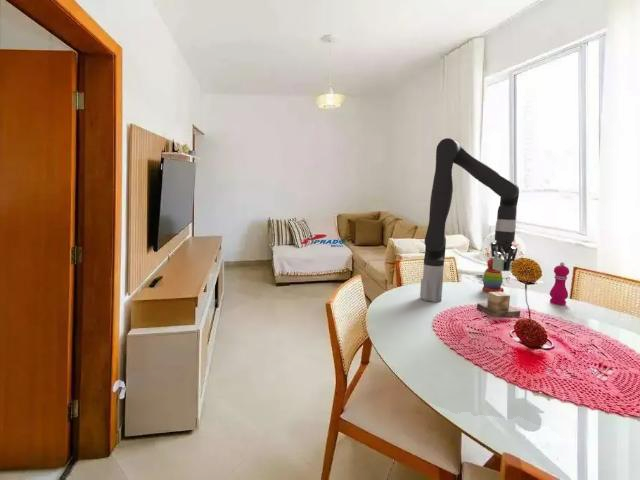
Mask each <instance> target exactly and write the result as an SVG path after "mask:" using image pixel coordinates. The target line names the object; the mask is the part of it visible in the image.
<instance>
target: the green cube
mask: <svg viewBox="0 0 640 480" xmlns="http://www.w3.org/2000/svg"><path fill="white" fill-rule="evenodd" d="M492 258H493V269H495V270H498V271H501V272H505V271H504V270H503V267H504V257H503V256H501V257H500V258H494V257H492ZM507 259H508V257H507ZM512 262H513V261H511V262H510V267H509V270H508V271H507V272H511V270H512Z"/></svg>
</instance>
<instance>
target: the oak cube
mask: <svg viewBox="0 0 640 480" xmlns="http://www.w3.org/2000/svg"><path fill="white" fill-rule="evenodd" d="M487 295H488V296H487V303H488V306H490V307H492V308H494V309H496V310H498V309H509V306H510V301H511V295H509V294H507V293H505V292H504V291H502V292H488V294H487Z"/></svg>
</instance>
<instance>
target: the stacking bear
mask: <svg viewBox="0 0 640 480" xmlns="http://www.w3.org/2000/svg"><path fill="white" fill-rule="evenodd" d="M493 258H494V257H492V258H489V259H488V261H487V263H486V264H487V268H486V269H485V270H484V274H483V276H482V282H483V283H482V284H483V287H482V291H483V292H486V293H489V292H504V288H503V287H502V285H503V279H504V278H503V273H502V272H503V271H498V270H495V269H493Z"/></svg>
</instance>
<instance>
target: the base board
mask: <svg viewBox="0 0 640 480" xmlns="http://www.w3.org/2000/svg"><path fill="white" fill-rule="evenodd" d="M476 308H478V310H481V311H483V312H485V313H487V314H488V315H489V316H492V317H494V318H498V317H516V316H517V317H518V316H519V317H520V316H521V310H518V309H517V308H515V307H512V306H510V305H509V309H498V310H496V309H494V308H492V307H490V306H488V302H480V303H479V302H478V303H477V304H476Z"/></svg>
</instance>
